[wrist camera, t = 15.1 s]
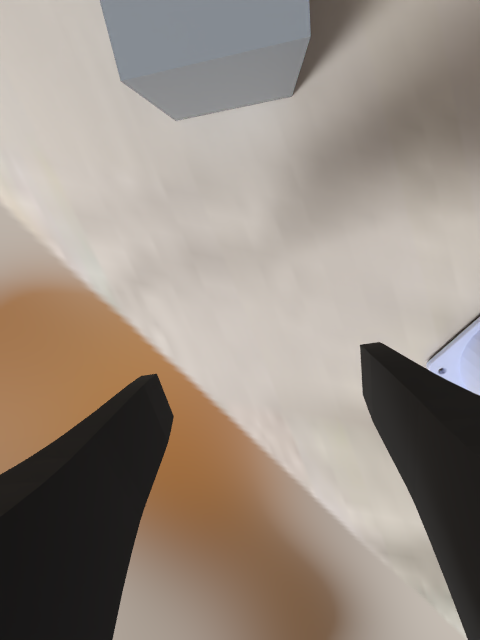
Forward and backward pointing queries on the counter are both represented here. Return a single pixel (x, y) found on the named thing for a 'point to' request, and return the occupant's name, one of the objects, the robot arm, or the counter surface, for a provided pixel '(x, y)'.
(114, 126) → the counter surface
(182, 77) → the tall gray prism
